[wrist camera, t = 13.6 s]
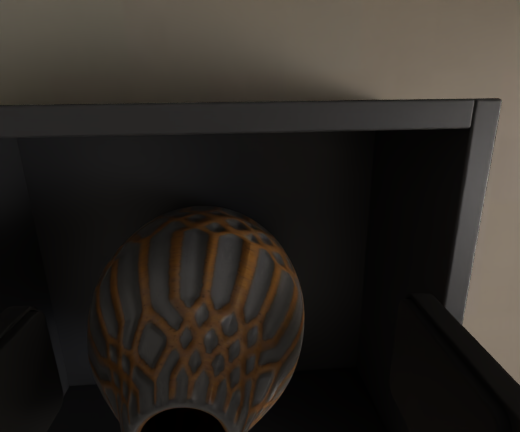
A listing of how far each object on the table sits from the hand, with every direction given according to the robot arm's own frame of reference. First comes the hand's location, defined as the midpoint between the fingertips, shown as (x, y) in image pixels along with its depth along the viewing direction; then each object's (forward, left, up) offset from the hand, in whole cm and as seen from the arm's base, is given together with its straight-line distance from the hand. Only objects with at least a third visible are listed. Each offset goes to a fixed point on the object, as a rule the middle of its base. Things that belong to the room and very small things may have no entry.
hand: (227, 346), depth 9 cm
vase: (+1, +1, -7) cm, 7 cm away
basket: (+1, +1, -7) cm, 7 cm away
